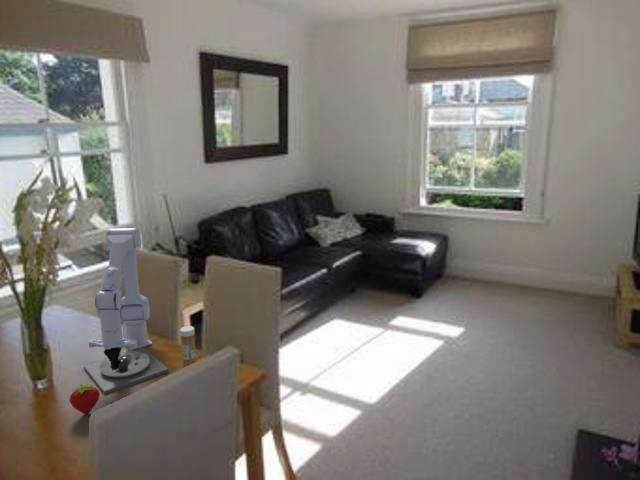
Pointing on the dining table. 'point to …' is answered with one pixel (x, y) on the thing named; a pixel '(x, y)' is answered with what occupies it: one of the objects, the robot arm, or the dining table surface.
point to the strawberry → (84, 398)
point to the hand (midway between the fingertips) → (115, 368)
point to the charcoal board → (115, 384)
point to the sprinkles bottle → (188, 345)
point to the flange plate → (130, 366)
